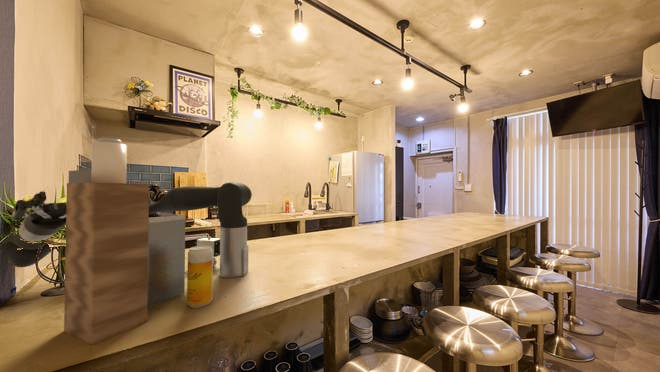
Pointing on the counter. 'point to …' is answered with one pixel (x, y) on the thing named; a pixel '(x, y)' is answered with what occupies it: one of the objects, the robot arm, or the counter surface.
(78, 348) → the counter surface
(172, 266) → the tall grey upright block
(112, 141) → the white plastic container
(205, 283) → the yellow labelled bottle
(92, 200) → the tall wooden block
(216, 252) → the pneumatic valve
